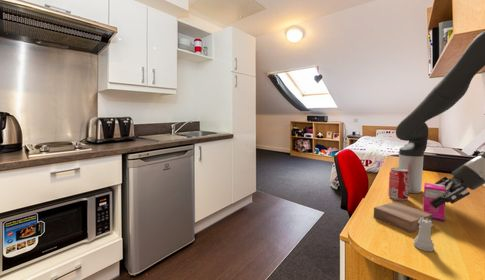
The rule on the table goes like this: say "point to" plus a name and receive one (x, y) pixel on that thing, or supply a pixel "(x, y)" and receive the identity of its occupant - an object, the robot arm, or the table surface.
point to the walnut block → (401, 216)
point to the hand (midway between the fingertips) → (428, 201)
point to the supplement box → (431, 194)
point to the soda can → (399, 184)
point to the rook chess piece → (424, 236)
